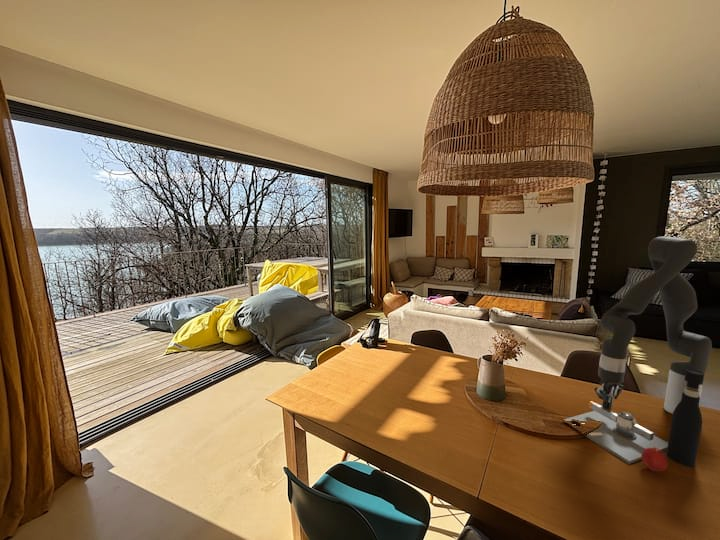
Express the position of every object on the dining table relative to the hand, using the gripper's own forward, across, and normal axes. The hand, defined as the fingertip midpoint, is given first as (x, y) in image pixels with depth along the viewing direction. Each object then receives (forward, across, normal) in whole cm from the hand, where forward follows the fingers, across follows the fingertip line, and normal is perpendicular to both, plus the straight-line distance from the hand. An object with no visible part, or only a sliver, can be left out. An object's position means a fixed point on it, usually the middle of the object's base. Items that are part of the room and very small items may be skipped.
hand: (606, 409), depth 116 cm
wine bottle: (+5, -2, +21) cm, 22 cm away
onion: (+5, +12, +21) cm, 25 cm away
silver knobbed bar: (+3, +3, +6) cm, 7 cm away
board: (+5, +5, +6) cm, 9 cm away
